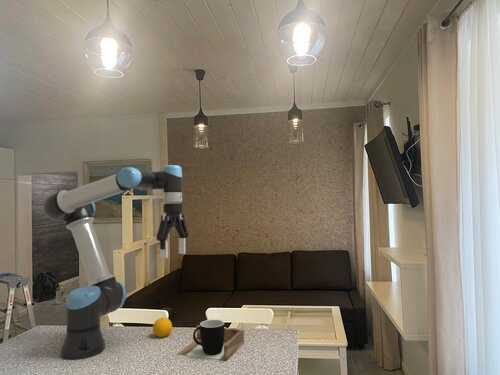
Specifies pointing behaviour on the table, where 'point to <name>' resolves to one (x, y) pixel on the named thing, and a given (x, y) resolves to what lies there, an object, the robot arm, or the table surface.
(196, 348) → the pad
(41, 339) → the table surface
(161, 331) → the yellow orange fruit
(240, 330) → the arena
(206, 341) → the mug
